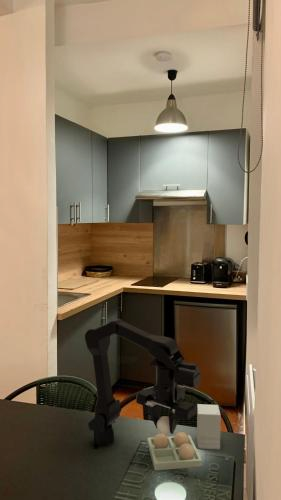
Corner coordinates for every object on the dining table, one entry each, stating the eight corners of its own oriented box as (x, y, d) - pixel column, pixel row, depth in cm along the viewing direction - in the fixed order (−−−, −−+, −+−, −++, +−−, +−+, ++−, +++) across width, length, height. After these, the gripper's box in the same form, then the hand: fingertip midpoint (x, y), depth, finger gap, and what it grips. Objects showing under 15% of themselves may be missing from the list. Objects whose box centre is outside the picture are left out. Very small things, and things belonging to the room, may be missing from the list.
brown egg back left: (154, 454, 127) (154, 439, 127) (152, 445, 132) (152, 430, 132) (170, 453, 128) (170, 437, 127) (166, 444, 133) (167, 429, 132)
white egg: (158, 437, 119) (158, 421, 119) (155, 429, 124) (155, 413, 124) (174, 436, 120) (174, 420, 120) (171, 428, 125) (171, 412, 125)
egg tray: (154, 473, 119) (154, 463, 119) (147, 446, 133) (147, 437, 133) (201, 469, 121) (202, 460, 120) (189, 443, 135) (189, 435, 135)
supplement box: (218, 440, 137) (218, 404, 136) (220, 452, 130) (221, 414, 129) (196, 438, 138) (197, 403, 137) (197, 451, 131) (198, 413, 130)
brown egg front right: (180, 465, 121) (180, 449, 121) (176, 456, 126) (177, 440, 126) (196, 464, 122) (196, 448, 121) (192, 454, 127) (192, 439, 126)
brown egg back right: (175, 452, 128) (175, 437, 127) (172, 444, 133) (172, 429, 132) (190, 451, 128) (191, 436, 128) (187, 443, 133) (187, 428, 133)
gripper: (205, 380, 122) (204, 430, 123) (155, 366, 133) (155, 412, 134) (186, 392, 113) (186, 445, 114) (135, 376, 124) (134, 425, 125)
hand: (164, 430), depth 122 cm, fingers closed on white egg, 5 cm apart
